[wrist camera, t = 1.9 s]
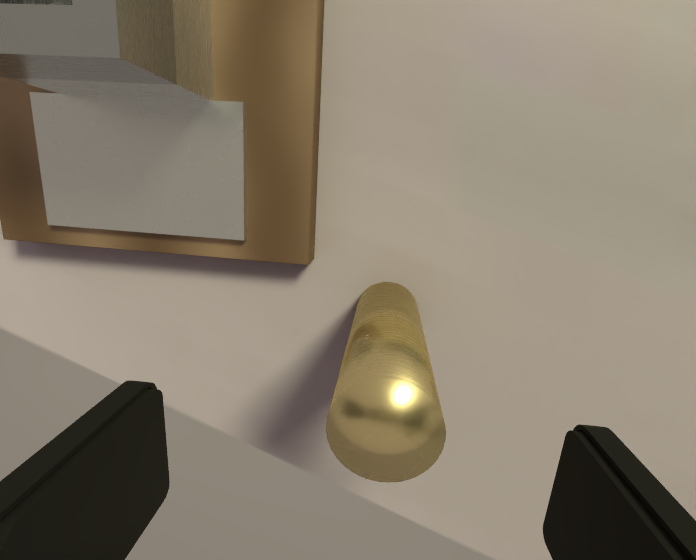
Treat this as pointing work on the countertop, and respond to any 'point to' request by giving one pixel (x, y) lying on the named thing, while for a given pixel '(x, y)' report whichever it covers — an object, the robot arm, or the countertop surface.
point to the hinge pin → (386, 391)
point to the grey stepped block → (129, 115)
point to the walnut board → (262, 139)
